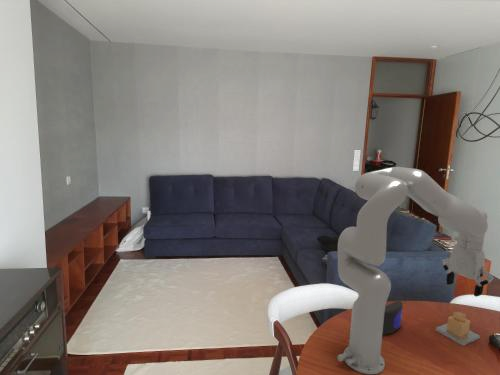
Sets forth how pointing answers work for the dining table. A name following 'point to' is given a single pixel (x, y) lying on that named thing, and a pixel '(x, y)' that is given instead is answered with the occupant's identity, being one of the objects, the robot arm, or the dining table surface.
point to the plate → (461, 340)
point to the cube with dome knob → (458, 324)
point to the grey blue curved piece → (392, 317)
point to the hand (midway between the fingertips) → (463, 289)
